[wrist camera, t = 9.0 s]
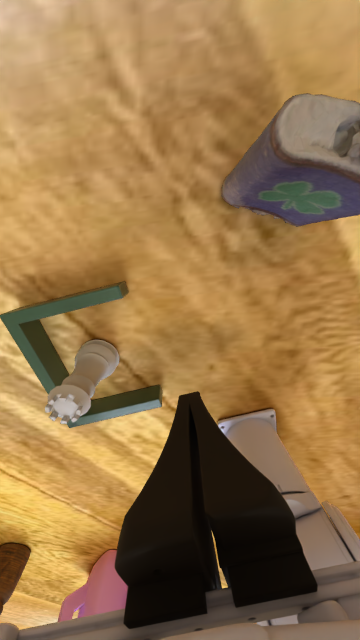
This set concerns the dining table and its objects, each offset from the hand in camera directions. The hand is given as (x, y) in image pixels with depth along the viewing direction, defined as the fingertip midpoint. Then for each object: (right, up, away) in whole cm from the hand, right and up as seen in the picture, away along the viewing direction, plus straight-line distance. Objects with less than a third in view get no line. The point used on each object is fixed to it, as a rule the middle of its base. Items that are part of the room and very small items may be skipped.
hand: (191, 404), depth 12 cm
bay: (-10, +2, +9) cm, 13 cm away
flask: (+7, +17, +4) cm, 19 cm away
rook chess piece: (-10, +2, +9) cm, 13 cm away
